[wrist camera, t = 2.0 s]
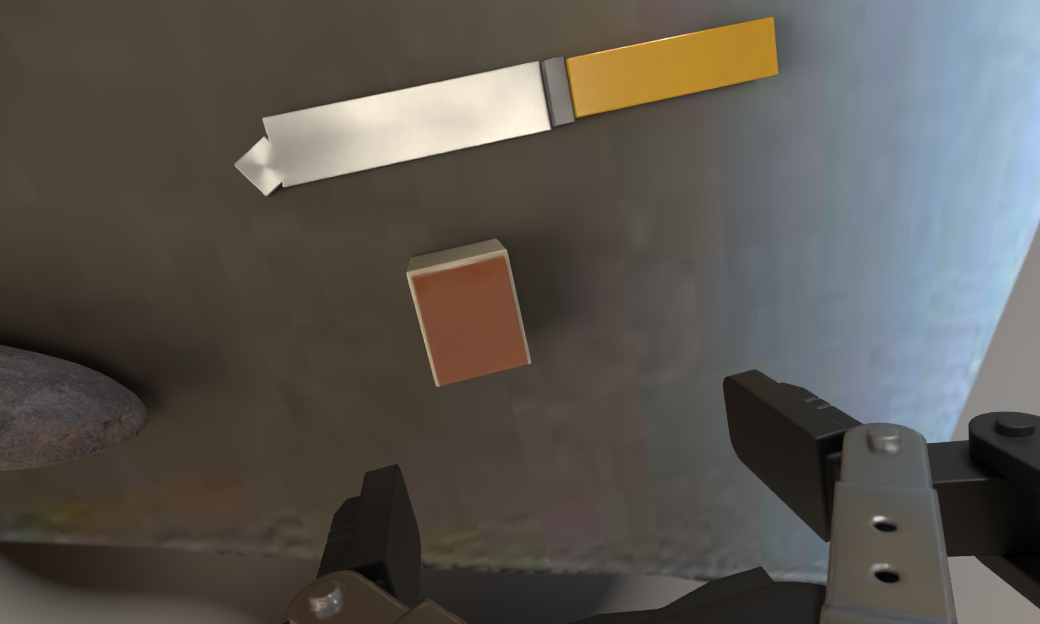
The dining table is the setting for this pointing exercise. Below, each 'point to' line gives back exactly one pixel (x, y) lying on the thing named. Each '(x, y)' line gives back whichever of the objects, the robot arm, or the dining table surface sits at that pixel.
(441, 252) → the salt cellar
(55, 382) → the perforated stone tool
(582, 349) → the dining table surface
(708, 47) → the knife
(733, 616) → the robot arm
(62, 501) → the dining table surface
